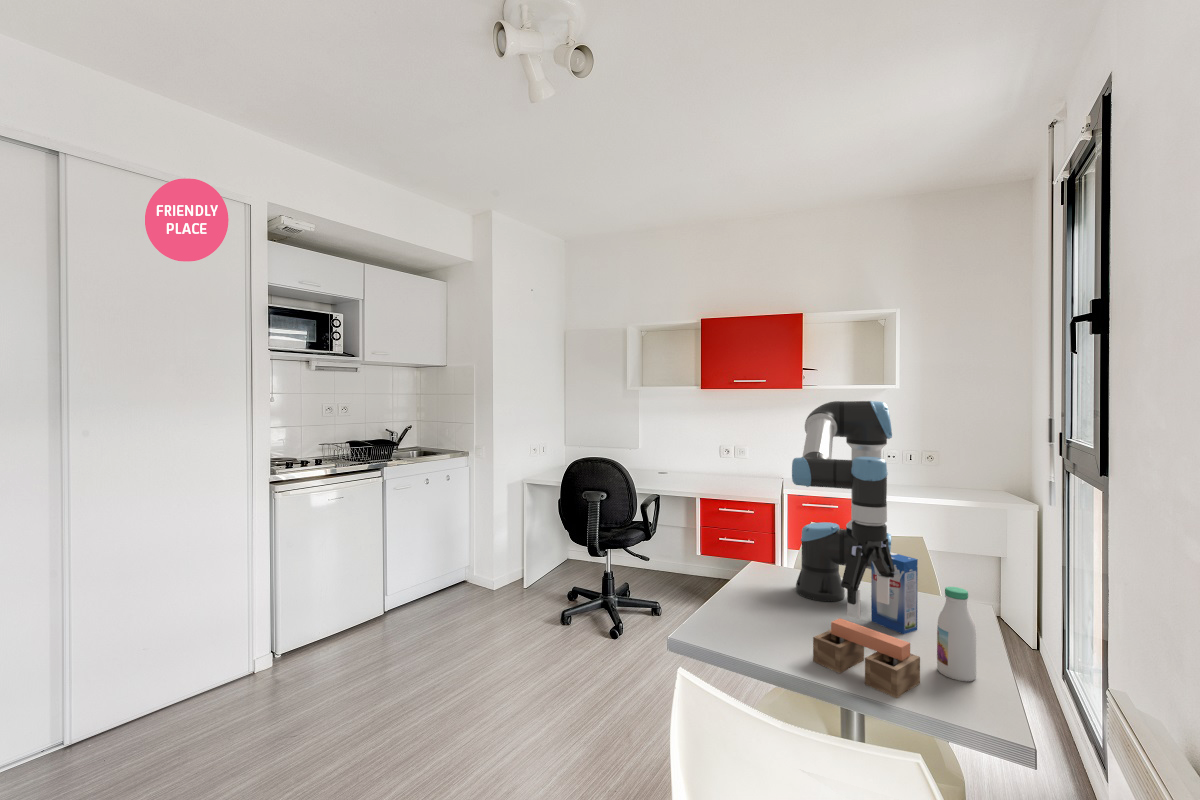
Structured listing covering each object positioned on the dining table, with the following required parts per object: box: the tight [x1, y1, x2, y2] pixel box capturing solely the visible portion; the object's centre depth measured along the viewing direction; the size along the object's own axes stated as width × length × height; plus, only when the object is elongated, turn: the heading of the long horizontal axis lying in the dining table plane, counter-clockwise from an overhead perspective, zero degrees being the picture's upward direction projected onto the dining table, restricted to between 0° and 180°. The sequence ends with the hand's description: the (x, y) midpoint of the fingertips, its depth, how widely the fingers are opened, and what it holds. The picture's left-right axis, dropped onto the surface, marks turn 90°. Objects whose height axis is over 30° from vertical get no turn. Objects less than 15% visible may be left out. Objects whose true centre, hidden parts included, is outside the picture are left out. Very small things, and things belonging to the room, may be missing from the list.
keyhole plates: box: [812, 629, 921, 699], centre depth 126 cm, size 11×20×6 cm, turn 35°
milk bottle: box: [936, 586, 977, 682], centre depth 126 cm, size 8×8×20 cm
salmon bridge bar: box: [830, 617, 911, 667], centre depth 128 cm, size 17×4×7 cm, turn 35°
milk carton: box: [870, 551, 919, 635], centre depth 153 cm, size 10×6×20 cm, turn 27°
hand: (868, 609), depth 128 cm, fingers open, 13 cm apart
